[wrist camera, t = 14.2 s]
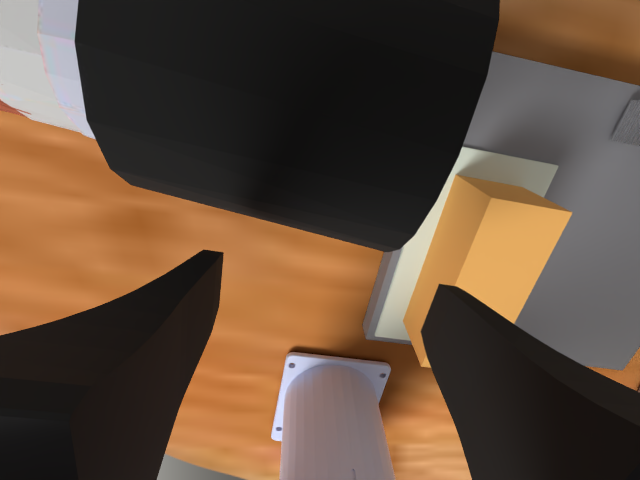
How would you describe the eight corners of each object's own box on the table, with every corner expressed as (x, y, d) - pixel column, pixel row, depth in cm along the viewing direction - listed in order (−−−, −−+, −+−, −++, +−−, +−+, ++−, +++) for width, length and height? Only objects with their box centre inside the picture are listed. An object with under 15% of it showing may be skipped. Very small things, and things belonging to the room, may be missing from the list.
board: (606, 355, 28) (624, 372, 26) (362, 325, 25) (366, 341, 24) (770, 120, 20) (808, 124, 19) (446, 45, 18) (459, 42, 16)
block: (459, 328, 24) (487, 374, 20) (402, 320, 23) (421, 366, 19) (522, 187, 19) (572, 212, 16) (455, 174, 19) (491, 197, 15)
